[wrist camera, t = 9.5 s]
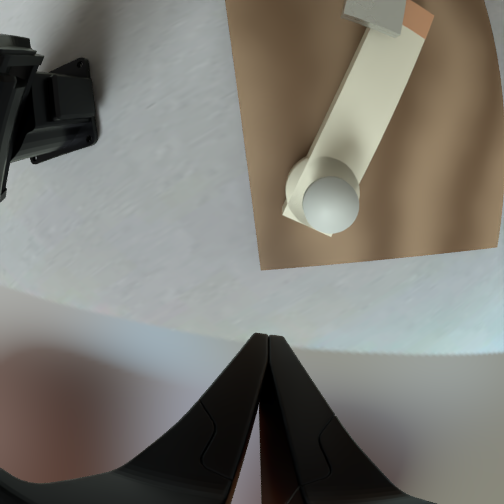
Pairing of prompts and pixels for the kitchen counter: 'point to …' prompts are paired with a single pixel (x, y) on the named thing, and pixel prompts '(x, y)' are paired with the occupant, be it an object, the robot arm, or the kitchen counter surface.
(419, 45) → the bar
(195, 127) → the kitchen counter surface
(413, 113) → the base plate
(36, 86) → the robot arm
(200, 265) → the kitchen counter surface
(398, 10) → the block
